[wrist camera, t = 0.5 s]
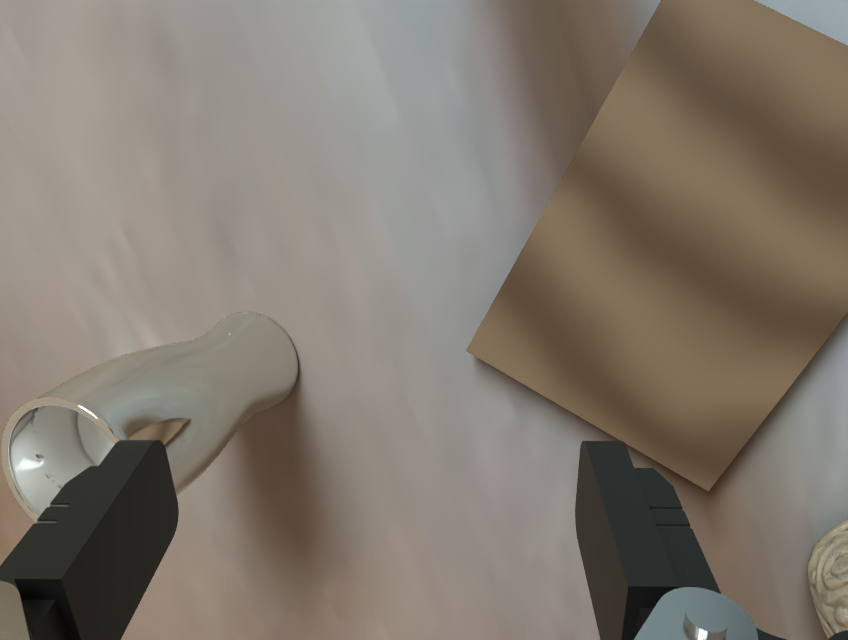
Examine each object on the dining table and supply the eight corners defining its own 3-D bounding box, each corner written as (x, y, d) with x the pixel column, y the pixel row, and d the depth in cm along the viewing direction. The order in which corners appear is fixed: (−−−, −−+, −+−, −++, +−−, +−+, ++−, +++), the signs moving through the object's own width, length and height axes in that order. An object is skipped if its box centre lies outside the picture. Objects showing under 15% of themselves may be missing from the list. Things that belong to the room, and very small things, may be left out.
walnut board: (678, -28, 31) (680, -35, 29) (980, 119, 29) (998, 118, 28) (471, 342, 38) (465, 350, 36) (705, 477, 36) (708, 491, 35)
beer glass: (327, 383, 41) (172, 513, 27) (243, 431, 43) (62, 574, 29) (263, 282, 40) (70, 362, 26) (182, 337, 43) (-33, 437, 29)
